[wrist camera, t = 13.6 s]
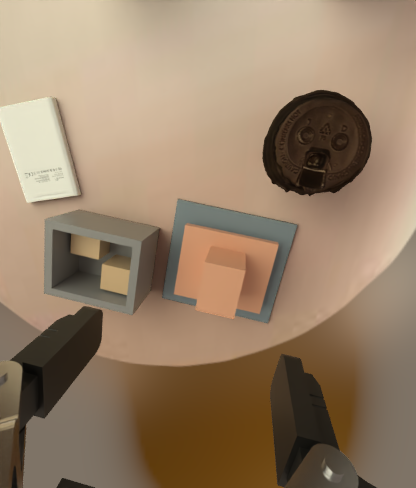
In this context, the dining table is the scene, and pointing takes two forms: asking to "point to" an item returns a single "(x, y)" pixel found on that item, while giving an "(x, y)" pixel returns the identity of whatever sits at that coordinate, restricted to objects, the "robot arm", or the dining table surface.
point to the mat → (234, 224)
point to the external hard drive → (39, 149)
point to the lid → (224, 270)
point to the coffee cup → (317, 143)
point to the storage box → (99, 260)
